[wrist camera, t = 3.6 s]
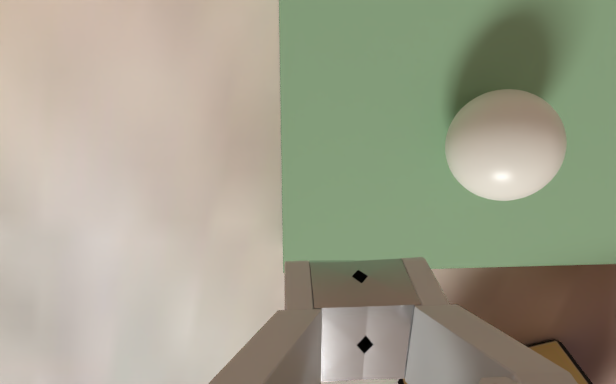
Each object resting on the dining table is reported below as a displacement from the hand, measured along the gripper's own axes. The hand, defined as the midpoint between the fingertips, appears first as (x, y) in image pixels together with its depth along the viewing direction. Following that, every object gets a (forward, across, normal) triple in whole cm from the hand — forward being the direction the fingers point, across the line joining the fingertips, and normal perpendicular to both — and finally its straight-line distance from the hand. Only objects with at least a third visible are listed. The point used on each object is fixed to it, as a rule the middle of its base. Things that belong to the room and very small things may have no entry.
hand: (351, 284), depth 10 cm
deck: (+11, -12, -1) cm, 16 cm away
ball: (+7, -6, -1) cm, 10 cm away
